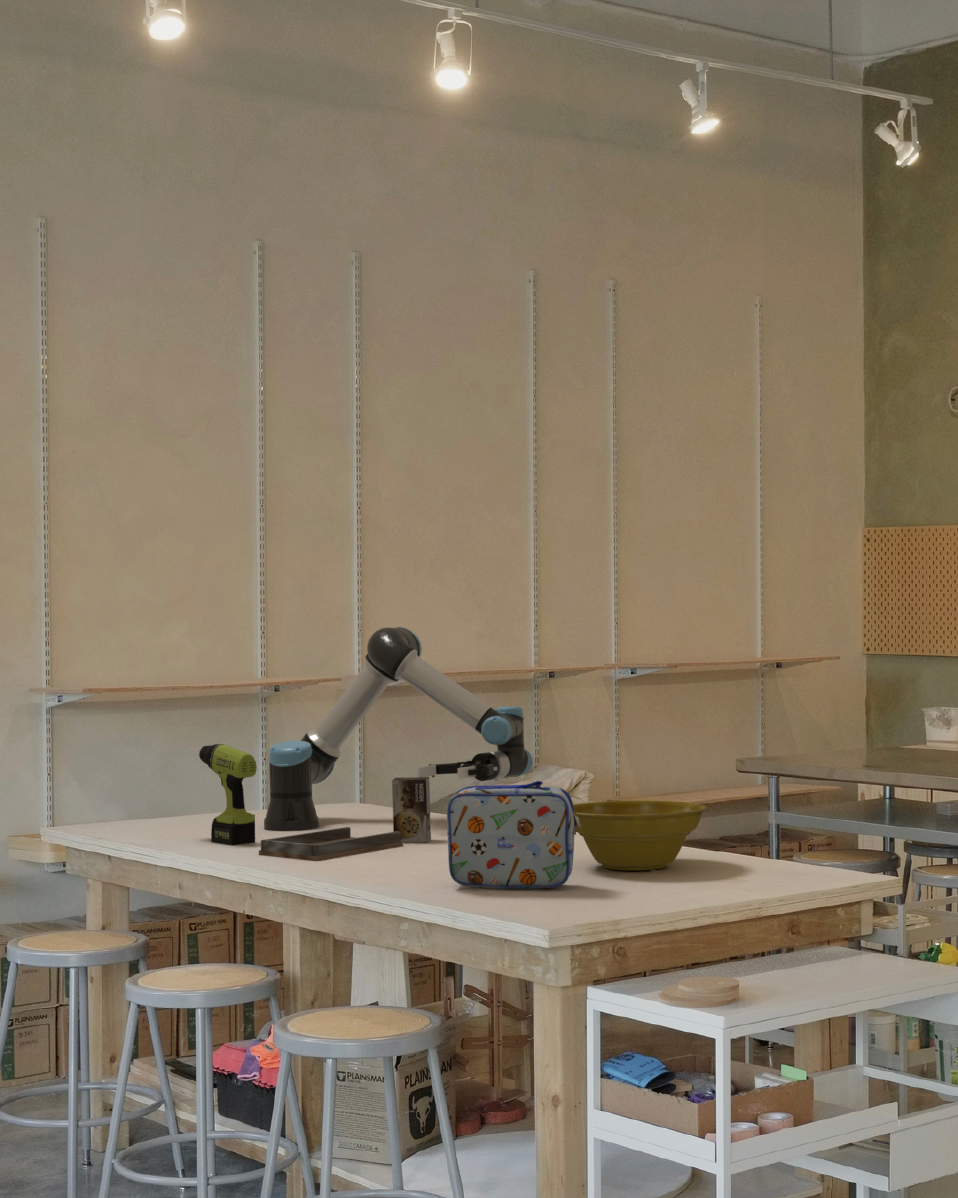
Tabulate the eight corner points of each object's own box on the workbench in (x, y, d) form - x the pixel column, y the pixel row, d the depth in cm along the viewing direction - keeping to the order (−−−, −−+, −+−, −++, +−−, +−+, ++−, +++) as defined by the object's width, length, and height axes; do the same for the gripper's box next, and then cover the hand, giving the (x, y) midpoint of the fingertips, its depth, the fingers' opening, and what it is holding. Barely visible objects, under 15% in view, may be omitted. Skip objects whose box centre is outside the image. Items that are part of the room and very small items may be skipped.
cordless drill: (188, 838, 403) (187, 743, 403) (211, 835, 407) (210, 742, 408) (237, 846, 386) (236, 747, 386) (260, 843, 390) (259, 745, 391)
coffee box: (431, 839, 392) (430, 776, 392) (428, 842, 385) (427, 778, 386) (396, 839, 393) (395, 776, 393) (392, 843, 386) (391, 779, 387)
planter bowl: (570, 856, 357) (569, 798, 357) (709, 857, 352) (708, 798, 352) (553, 878, 325) (552, 814, 326) (706, 879, 320) (705, 815, 320)
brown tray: (258, 854, 369) (258, 840, 370) (344, 840, 393) (344, 826, 393) (317, 860, 357) (317, 845, 357) (403, 845, 380) (402, 831, 380)
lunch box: (583, 883, 317) (581, 777, 318) (578, 892, 307) (576, 782, 307) (453, 882, 321) (451, 778, 322) (444, 891, 311) (442, 782, 312)
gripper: (526, 781, 405) (476, 789, 389) (454, 778, 421) (403, 785, 405) (525, 753, 406) (475, 759, 389) (453, 751, 421) (402, 757, 405)
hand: (438, 773), depth 397 cm, fingers open, 13 cm apart
